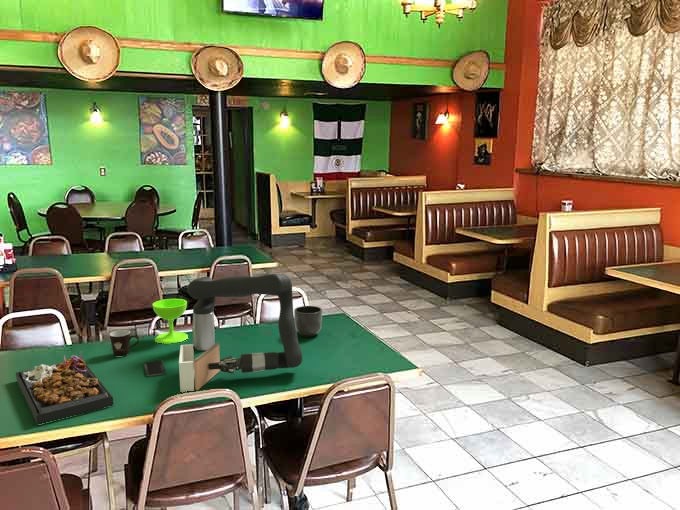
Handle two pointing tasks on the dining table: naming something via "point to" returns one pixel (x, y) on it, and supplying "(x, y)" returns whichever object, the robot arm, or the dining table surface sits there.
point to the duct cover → (206, 366)
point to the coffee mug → (121, 342)
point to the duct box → (186, 368)
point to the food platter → (62, 390)
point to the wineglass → (170, 319)
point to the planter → (308, 320)
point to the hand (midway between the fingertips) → (208, 366)
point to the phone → (154, 368)
